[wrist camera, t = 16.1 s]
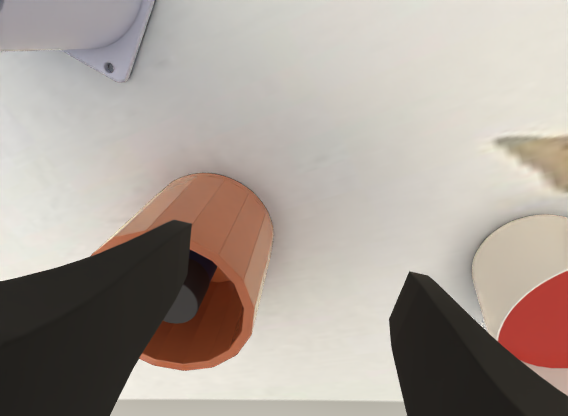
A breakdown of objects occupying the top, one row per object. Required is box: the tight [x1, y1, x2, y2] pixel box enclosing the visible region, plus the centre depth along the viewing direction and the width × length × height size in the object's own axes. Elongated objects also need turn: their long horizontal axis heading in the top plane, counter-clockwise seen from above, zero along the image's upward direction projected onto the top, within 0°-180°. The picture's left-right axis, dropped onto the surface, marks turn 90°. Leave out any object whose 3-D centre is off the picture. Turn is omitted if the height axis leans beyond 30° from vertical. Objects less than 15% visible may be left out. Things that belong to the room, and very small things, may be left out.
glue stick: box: [163, 250, 218, 324], centre depth 20 cm, size 3×3×6 cm
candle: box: [472, 214, 568, 396], centre depth 19 cm, size 9×9×6 cm
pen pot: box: [91, 173, 274, 371], centre depth 20 cm, size 8×8×8 cm
